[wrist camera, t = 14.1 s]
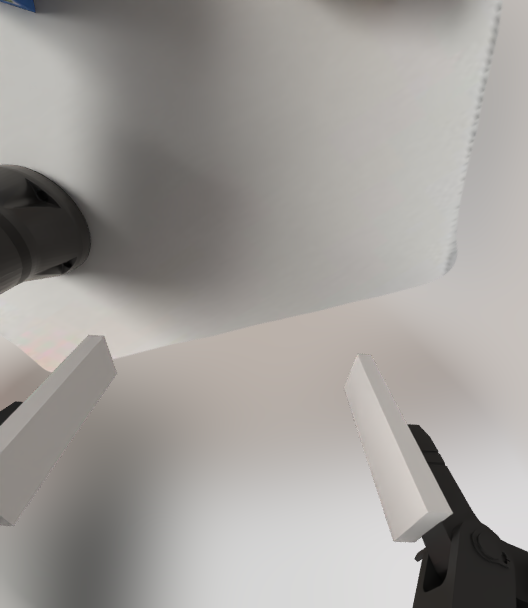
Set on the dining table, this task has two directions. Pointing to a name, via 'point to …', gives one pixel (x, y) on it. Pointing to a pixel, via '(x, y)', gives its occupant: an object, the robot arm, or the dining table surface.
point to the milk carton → (21, 4)
